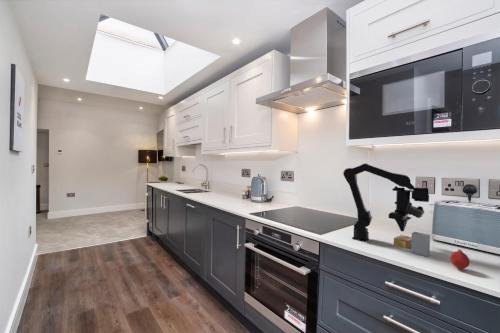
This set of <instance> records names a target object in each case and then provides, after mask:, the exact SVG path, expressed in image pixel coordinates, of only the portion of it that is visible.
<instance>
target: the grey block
mask: <svg viewBox="0 0 500 333" xmlns="http://www.w3.org/2000/svg"><path fill="white" fill-rule="evenodd" d="M411 237H412V243H411V247H410V248H411V249H410V250H411V251H410V252H411V253H412V254H415V255H420V256H423V257H425V258H426V257H428V256H430V252H431V250H430V248H431V234H429V233H428V234H427V233H424V232H418V231H414V232H411Z"/></svg>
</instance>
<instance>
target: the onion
mask: <svg viewBox="0 0 500 333" xmlns="http://www.w3.org/2000/svg"><path fill="white" fill-rule="evenodd" d="M449 260H450V263H451V265H453V266H454V268H456V269H457V270H459V271H462V270H464V269H466V268H468V267H469V266H470V264H471V263H470V262H471V261H470V258H469V256H468V255H467V254H465V253H464V252H463V251H462V249H457V250H456V251H454V252H452V253H451V254H450V256H449Z"/></svg>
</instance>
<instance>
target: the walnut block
mask: <svg viewBox="0 0 500 333" xmlns="http://www.w3.org/2000/svg"><path fill="white" fill-rule="evenodd" d="M411 243H412V236H408V235H404V234H400V235H398V236H395V237H394V238H393V246H394V247H399V248H403V249H406V250H407V249H410V248H411Z"/></svg>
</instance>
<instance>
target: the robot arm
mask: <svg viewBox="0 0 500 333" xmlns="http://www.w3.org/2000/svg"><path fill="white" fill-rule="evenodd" d="M364 172H367V173H369V174H370V173H371V174H373V175H376V176H378V177H381V178H384V179H386V180H388V181H390V182H392V183H394V184H396V185H395V186H394V187H393V188H392V189H391V190H392V191H393V192H394V191H395V192H396V193H395V194H396V200H395V201H394V204H395V208H396V209H394V211H391V212H390V213H388V219H392V220H395V222H396V224H397V226H398V228H399V230H400V232H404V231H405V229H406V227H407V226H406V225H407V223H408V221H409V220H411V219H412V217H415V218H417V219H420V218H422V217H423V215H424V214H425V209H424V207H423V206H420V205H419V206H413V203H412V202H411V199H412V200H413V201H414V202H421V203H422V202H424V203H429V201H430V195H429V188H428V187H415V186H414V185H413V184H412V183H411V179H410V177H409V176H408V175H406V174H402V173H396V172H391V171H388V170H384V169H383V168H380V167H376V166H373V165H370V164H368V163H365V162H364V163H362V164H360V165H358V166H355V167H353V168H352V167H349V168H345V169H344V170H343V172H342V174H343V176H344V178H345V180H346V182H347V184H348V185H349V189H350V190H351V191H350V192H351V194H352V198H353V200H354V203H355V207H356V210H357V221H356V222H355V223H354V225H353V237H351V239H353V240H356V241H360V242H366V241H369V240H370V238H369V230H368V229H369V228H368V227H369V226H370V225H371V223H372V219H373V216H372V214H371V210H368V209H367V208H366V206H365V203H364V200H363V197H362V193H361V191H360V188H359V184H358V175H359V174H360V173H364ZM398 186H399V187H398ZM405 188H406V189H405ZM409 215H410V217H409ZM411 216H412V217H411Z"/></svg>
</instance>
